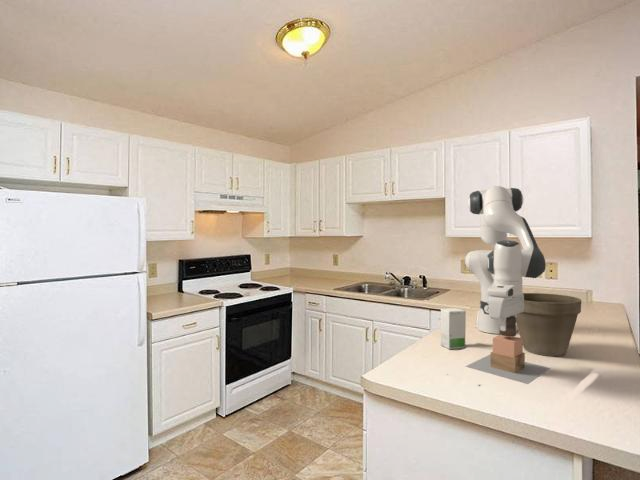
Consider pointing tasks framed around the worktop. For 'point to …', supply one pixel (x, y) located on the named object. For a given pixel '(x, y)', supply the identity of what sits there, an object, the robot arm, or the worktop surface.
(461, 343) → the skincare box
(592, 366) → the worktop surface
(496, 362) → the walnut base block
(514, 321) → the espresso cylinder
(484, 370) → the slate mat
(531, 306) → the plant pot
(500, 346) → the terracotta top block
